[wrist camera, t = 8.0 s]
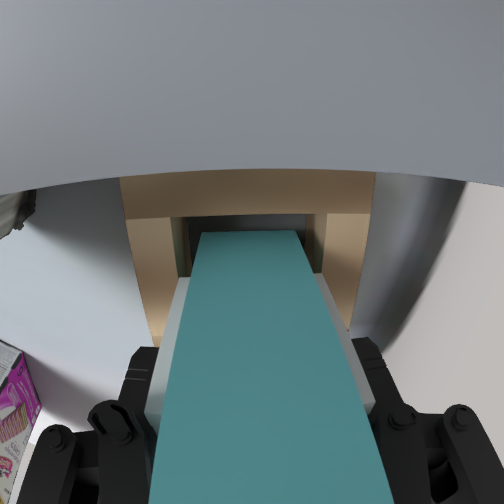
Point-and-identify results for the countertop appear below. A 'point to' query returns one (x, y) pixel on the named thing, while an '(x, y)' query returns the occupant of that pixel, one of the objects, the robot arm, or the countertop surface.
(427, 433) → the robot arm
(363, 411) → the peg
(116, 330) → the countertop surface
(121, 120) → the socket station
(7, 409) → the candy bar box
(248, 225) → the countertop surface
